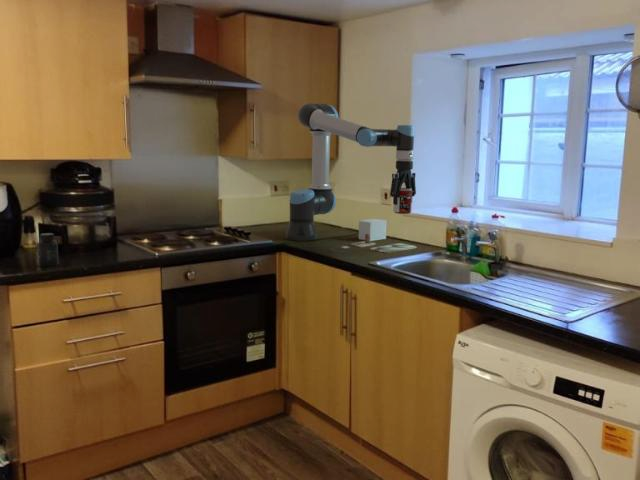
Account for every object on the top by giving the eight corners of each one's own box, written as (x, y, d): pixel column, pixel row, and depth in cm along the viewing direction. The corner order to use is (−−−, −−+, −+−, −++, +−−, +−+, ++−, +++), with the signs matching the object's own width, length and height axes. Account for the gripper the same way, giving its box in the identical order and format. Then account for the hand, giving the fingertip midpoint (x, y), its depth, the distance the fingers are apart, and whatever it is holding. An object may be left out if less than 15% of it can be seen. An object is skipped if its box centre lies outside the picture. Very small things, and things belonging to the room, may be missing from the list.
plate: (351, 245, 282) (351, 235, 281) (365, 242, 288) (366, 232, 288) (360, 247, 277) (360, 236, 277) (375, 244, 284) (375, 234, 283)
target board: (370, 249, 272) (370, 247, 271) (399, 244, 285) (399, 242, 285) (387, 253, 264) (387, 250, 264) (416, 248, 278) (416, 245, 278)
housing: (358, 238, 299) (359, 220, 297) (374, 236, 307) (375, 218, 305) (370, 241, 293) (370, 222, 292) (385, 238, 301) (386, 220, 300)
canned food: (392, 213, 272) (393, 188, 270) (395, 211, 280) (395, 187, 278) (410, 214, 271) (411, 189, 269) (411, 212, 278) (412, 188, 276)
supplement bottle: (36, 264, 231) (34, 233, 229) (56, 262, 235) (54, 232, 233) (41, 268, 225) (39, 236, 223) (60, 266, 229) (59, 234, 227)
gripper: (395, 161, 262) (393, 213, 266) (425, 160, 276) (423, 210, 280) (382, 160, 267) (380, 212, 271) (412, 159, 281) (410, 208, 285)
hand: (402, 211), depth 275 cm, fingers closed on canned food, 8 cm apart
